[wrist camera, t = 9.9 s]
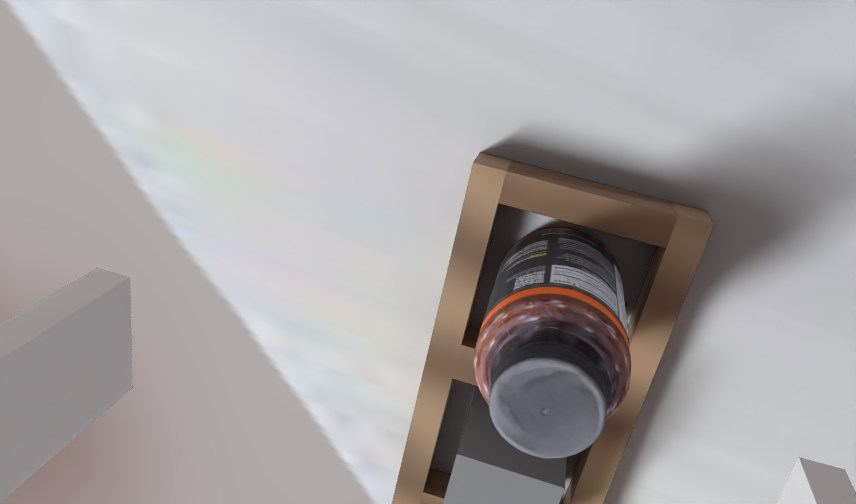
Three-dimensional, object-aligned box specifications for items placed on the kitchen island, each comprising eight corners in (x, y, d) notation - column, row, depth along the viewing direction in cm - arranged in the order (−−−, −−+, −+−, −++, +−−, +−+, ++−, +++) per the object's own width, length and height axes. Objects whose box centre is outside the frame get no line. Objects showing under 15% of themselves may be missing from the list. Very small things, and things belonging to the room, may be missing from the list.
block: (569, 412, 36) (564, 488, 31) (544, 485, 38) (535, 568, 33) (477, 383, 37) (456, 453, 31) (457, 457, 39) (434, 534, 33)
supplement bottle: (563, 357, 35) (551, 514, 25) (473, 283, 35) (423, 411, 24) (650, 278, 33) (676, 416, 22) (554, 197, 32) (535, 299, 22)
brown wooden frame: (480, 152, 32) (473, 162, 30) (707, 211, 31) (713, 225, 29) (400, 480, 40) (391, 504, 38) (578, 538, 39) (577, 565, 37)
